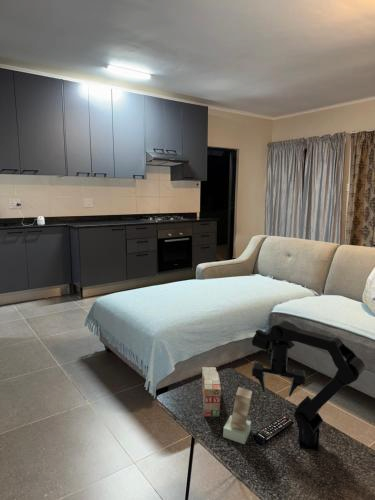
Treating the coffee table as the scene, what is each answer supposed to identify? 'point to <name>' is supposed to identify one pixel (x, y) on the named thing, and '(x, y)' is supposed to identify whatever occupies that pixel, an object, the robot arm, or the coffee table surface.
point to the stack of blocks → (211, 391)
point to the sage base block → (236, 432)
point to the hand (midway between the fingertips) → (276, 393)
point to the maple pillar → (241, 408)
